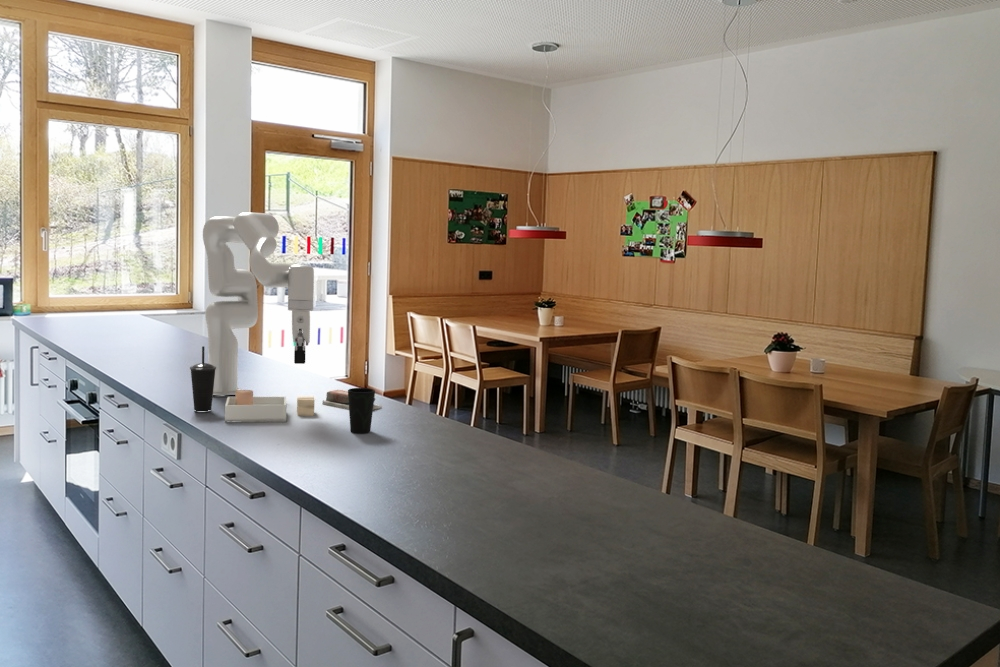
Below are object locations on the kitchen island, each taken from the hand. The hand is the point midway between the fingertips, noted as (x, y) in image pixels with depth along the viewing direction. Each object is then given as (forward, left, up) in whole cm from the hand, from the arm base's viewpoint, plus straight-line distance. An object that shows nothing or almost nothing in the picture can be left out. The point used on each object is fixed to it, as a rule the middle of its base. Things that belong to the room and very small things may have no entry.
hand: (299, 361), depth 250 cm
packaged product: (-12, +17, -17) cm, 27 cm away
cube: (-1, +2, -17) cm, 17 cm away
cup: (+24, +17, -17) cm, 34 cm away
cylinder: (+3, -16, -16) cm, 23 cm away
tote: (+4, -12, -17) cm, 21 cm away
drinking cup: (-6, -28, -17) cm, 33 cm away
